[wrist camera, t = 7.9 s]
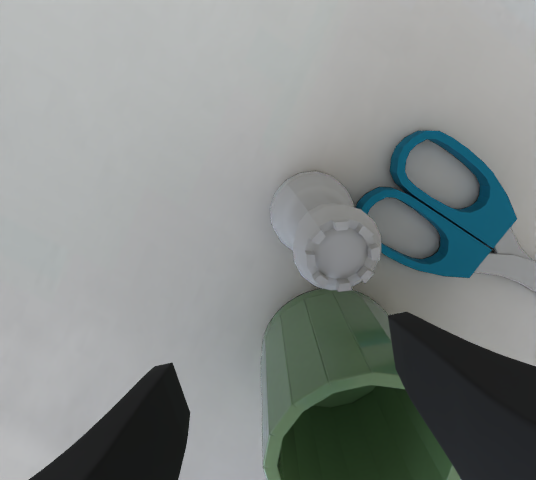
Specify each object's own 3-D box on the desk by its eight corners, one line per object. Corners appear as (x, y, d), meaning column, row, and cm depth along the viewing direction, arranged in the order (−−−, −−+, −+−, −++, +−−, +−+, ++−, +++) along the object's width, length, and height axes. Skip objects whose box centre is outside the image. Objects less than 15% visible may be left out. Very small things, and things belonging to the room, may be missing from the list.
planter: (403, 389, 23) (475, 514, 15) (278, 416, 23) (288, 552, 16) (385, 273, 21) (461, 352, 13) (247, 305, 21) (241, 400, 13)
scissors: (424, 116, 17) (683, 304, 21) (415, 117, 18) (665, 297, 22) (345, 230, 19) (600, 387, 22) (341, 226, 20) (586, 377, 23)
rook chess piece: (252, 205, 19) (250, 250, 12) (316, 152, 19) (358, 162, 11) (302, 264, 20) (330, 339, 13) (365, 215, 20) (434, 264, 12)
